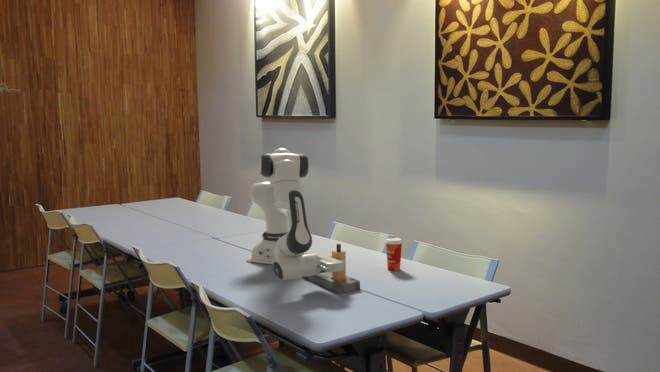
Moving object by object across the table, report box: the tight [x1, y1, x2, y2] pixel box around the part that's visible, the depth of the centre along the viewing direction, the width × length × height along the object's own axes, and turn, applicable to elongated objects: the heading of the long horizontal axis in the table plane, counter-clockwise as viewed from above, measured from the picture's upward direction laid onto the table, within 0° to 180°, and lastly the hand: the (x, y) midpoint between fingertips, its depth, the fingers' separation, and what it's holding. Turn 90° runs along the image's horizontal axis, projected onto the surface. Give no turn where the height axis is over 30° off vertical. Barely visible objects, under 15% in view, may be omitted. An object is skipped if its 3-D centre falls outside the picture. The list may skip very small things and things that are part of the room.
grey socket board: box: [302, 270, 361, 295], centre depth 250 cm, size 30×10×4 cm, turn 33°
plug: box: [331, 243, 347, 281], centre depth 243 cm, size 4×4×15 cm
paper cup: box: [385, 237, 403, 272], centre depth 268 cm, size 8×8×14 cm
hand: (340, 259), depth 243 cm, fingers closed on plug, 4 cm apart
